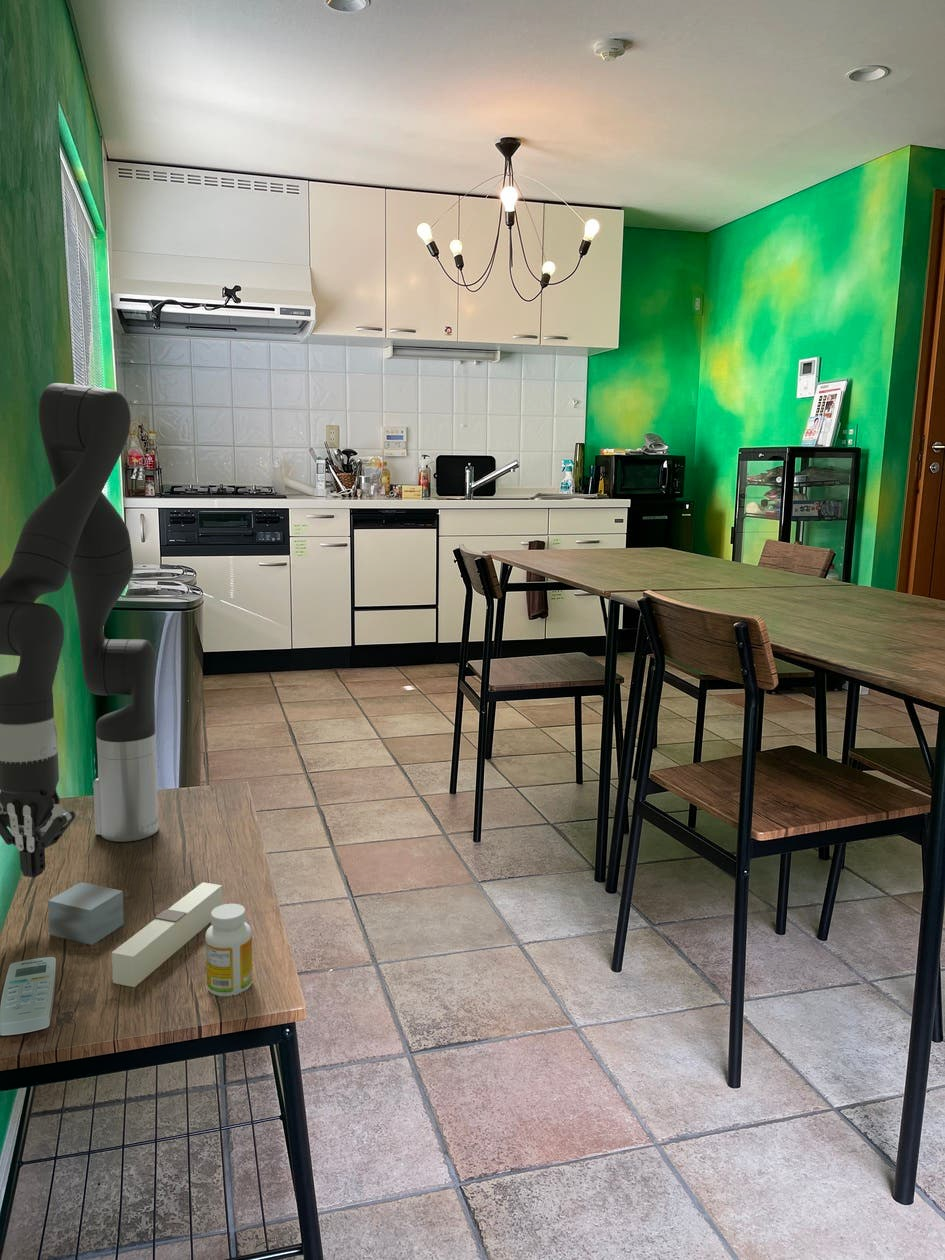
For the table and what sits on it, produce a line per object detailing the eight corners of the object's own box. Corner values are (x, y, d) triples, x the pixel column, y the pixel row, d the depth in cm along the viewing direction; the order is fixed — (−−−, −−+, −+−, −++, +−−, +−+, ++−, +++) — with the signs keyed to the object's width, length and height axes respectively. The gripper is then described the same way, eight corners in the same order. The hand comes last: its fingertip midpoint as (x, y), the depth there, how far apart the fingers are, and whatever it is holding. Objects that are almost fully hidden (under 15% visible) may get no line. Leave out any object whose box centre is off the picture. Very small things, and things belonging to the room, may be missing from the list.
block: (49, 935, 122) (47, 900, 121) (82, 915, 127) (81, 881, 126) (92, 946, 119) (90, 910, 119) (123, 925, 125) (122, 891, 124)
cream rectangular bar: (112, 982, 111) (111, 950, 110) (203, 908, 130) (202, 880, 129) (134, 987, 110) (133, 955, 109) (222, 911, 129) (222, 884, 128)
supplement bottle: (244, 968, 115) (242, 896, 113) (258, 989, 110) (257, 915, 109) (201, 980, 112) (199, 906, 110) (214, 1002, 107) (212, 926, 106)
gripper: (88, 748, 123) (93, 870, 126) (5, 739, 127) (12, 858, 129) (49, 764, 116) (55, 893, 119) (-37, 754, 119) (-29, 879, 122)
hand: (33, 874), depth 124 cm, fingers closed
